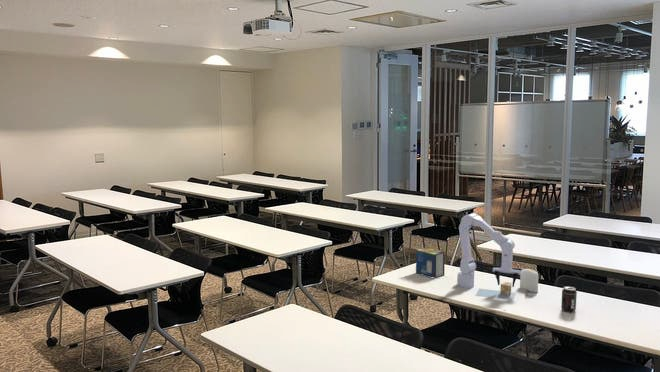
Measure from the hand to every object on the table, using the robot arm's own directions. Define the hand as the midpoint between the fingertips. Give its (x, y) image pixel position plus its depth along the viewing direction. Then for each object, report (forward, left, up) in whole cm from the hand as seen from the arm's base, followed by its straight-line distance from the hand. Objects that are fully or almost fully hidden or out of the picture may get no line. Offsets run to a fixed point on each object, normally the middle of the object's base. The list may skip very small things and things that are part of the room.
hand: (505, 285), depth 291 cm
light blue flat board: (-5, -3, -6) cm, 8 cm away
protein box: (-49, +25, -6) cm, 55 cm away
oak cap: (0, 0, -5) cm, 5 cm away
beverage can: (+32, -11, -6) cm, 34 cm away
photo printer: (+11, +16, -6) cm, 20 cm away
